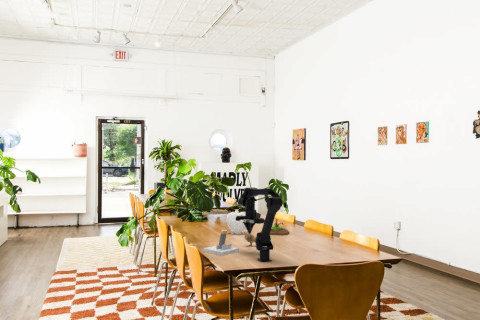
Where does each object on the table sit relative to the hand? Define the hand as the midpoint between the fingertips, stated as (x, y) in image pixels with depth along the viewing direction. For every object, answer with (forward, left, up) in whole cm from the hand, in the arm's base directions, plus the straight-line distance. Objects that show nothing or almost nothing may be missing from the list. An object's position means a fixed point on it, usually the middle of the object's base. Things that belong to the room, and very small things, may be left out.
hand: (249, 233), depth 271 cm
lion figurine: (+22, -15, -13) cm, 29 cm away
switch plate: (+15, +12, -13) cm, 23 cm away
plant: (+62, -55, -14) cm, 84 cm away
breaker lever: (+15, +12, -10) cm, 22 cm away
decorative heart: (+68, -23, -13) cm, 73 cm away
